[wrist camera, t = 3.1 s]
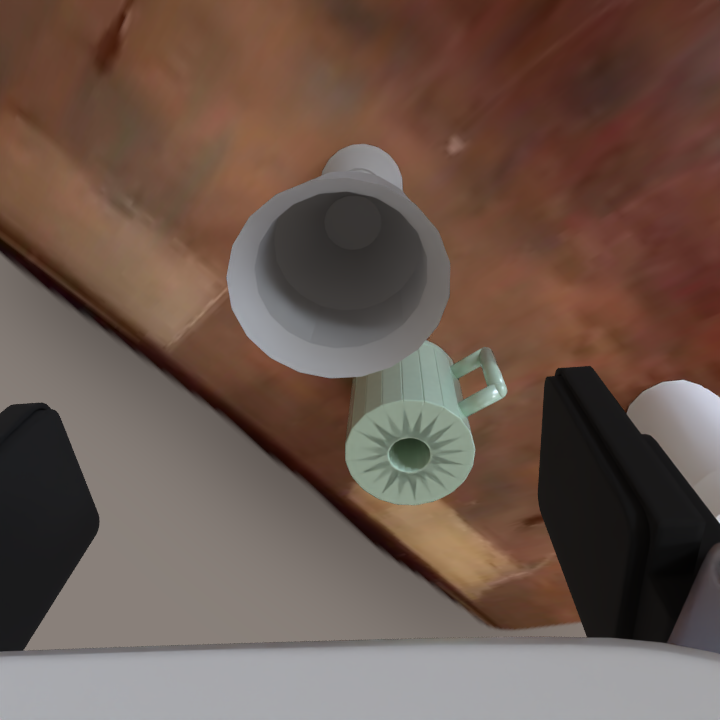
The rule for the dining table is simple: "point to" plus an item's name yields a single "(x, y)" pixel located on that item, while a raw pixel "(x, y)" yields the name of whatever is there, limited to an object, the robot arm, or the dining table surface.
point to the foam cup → (685, 432)
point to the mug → (417, 425)
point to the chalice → (340, 270)
